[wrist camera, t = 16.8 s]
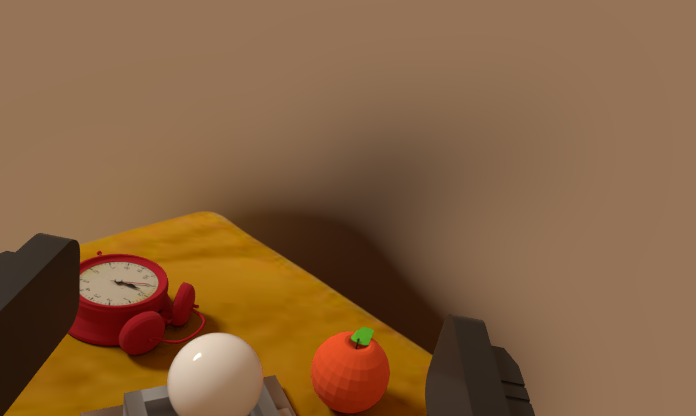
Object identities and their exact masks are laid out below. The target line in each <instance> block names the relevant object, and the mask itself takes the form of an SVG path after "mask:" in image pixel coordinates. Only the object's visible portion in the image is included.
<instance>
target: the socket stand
mask: <svg viewBox="0 0 696 416" xmlns="http://www.w3.org/2000/svg"><path fill="white" fill-rule="evenodd" d="M80 416H178V415H177V413H176V412H175V410H174V409H173V407H172V405H171V402H170V400H169V396H168V390H167V385H166V386H161V387H155V388H150V389H145V390H139V391H134V392H129V393H124V405H120V406H115V407H110V408H105V409H100V410H95V411H90V412H84V413H80ZM248 416H296V414H295V412H294V411H293V409H292V407H291V405H290V403H289V401H288V399H287V397H286V395H285V393H284V391H283V389H282V388H281V386H280V384H279V382H278V380H277V378H276V376H275V375H274V376H269V377H264V378H263V388H262V392H261V395H260V398H259V400H258V402H257V404H256V406H255V407H254V409H253V410H252V412H251V413H250V414H249V415H248Z"/></svg>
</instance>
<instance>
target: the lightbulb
mask: <svg viewBox="0 0 696 416" xmlns="http://www.w3.org/2000/svg"><path fill="white" fill-rule="evenodd" d="M262 388H263V370H262V365H261V362H260V360H259V357H258V356H257V354H256V352H255V351H254V350H253V348H252V347H251V346H250V345H249V344H248V343H247V342H245V341H244V340H242V339H241V338H239V337H237V336H234V335H231V334H227V333H210V334H205V335H202V336H200V337H197V338H195V339H193V340H192V341H190V342H189V343H188V344H186V345H185V346H184V347H183V348H182V349H181V350H180V351H179V353H178V354H177V355H176V357H175V358H174V360H173V362H172V364H171V367H170V370H169V374H168V380H167V390H168V396H169V400H170V402H171V405H172V407H173V409H174V410H175V412H176V413H177V415H178V416H248V415H249V414H250V413H251V412H252V410H253V409H254V407H255V406H256V404H257V402H258V400H259V398H260V395H261V392H262Z"/></svg>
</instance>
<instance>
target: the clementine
mask: <svg viewBox="0 0 696 416" xmlns="http://www.w3.org/2000/svg"><path fill="white" fill-rule="evenodd" d="M373 331H374V330H372V329H370V328H367V327H363V328H361V329H359V330H358V331H356V332H342V333H338V334H336V335H334V336H332V337H330V338H328V339H327V340H326V341H325V342H324V343H323V344H322V345H321V346H320V347H319V348H318V350H317V352H316V354H315V356H314V358H313V361H312V368H311V379H312V383H313V386H314V389H315V392H316V393H317V395H318V396H319V398H320V399H321V400H322V401H323V402H324V403H325V404H326V405H327V406H328V407H330V408H332V409H333V410H336V411H338V412H342V413H357V412H361V411H364V410H367V409H369V408H370V407H372V406H374V405H375V404H376V403H377V402H378V401H379V400H380V398H381V397H382V396H383V394H384V392H385V390H386V388H387V385H388V382H389V375H390V371H389V364H388V359H387V357H386V354H385V352H384V351H383V349H382V348H381V346H380V345H379V344H378V343H377V342H376V341H375V340H374V339H372V338H371V337H372V335H373Z"/></svg>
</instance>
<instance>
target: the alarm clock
mask: <svg viewBox="0 0 696 416" xmlns="http://www.w3.org/2000/svg"><path fill="white" fill-rule="evenodd" d="M97 254H98V255H99V256H97V257H93V258H90V259H87V260H85V261H83V262H81V263H80V302H79V308H78V313H77V316H76V319H75V321H74V323H73V325H72V327H71V329H70V330H69V331H68V334H70V335H71V336H73V337H75V338H77V339H79V340H81V341H84V342H88V343H92V344H98V345H107V346H115V345H120V347H121V348H122V350H123V351H125V352H126V353H128V354H130V355H141V354H144V353H147V352H149V351H150V350H152V349H153V348H155V347H156V346H157V345H158V344H159V343H160V341H162V342H166V343H173V344H177V343H182V342H185V341H187V340H189V339H191V338H193V337H194V336H195V335H197V334H198V333H199V332H200V331H201V330H202V329H203V327H204V325H205V318H204V316H203V315H202V314H200V313H199V312H197V311H196V310H194V309H193V307H194V308H199V305H195V304H194V302H195V290H194V288H193V286H192V285H191V284H188V283H185V282H183V283H182V284H181V286H180V288H179V290H178V292H177V295H176V297H175V301H174V305H173V310H172V302H171V300H170V298H169V296H168V294H167V291H168V278H167V275H166V273H165V271H164V270H163V269H162V268H161V267H160V266H159V265H158V264H156V263H155V262H153V261H151V260H148V259H146V258H143V257H139V256H134V255H128V254H109V255H101V254H102V252H101V251H98V252H97ZM192 312H194V313H196V314H197V315H199V316H200V317H201V318H202V320H203V323H202V325H201V327H200V328H199V329H198V330H197V331H196V332H195V333H193V334H192V335H191V336H189V337H187V338H185V339H182V340H176V341H172V340H165V339H162V338H163V335H164V332H165V326H166V325H167V324H169V323H170V322H172V325H174V326H182V325H184V324H185V323H186V322H187V321H188V319H189V317H190V315H191V313H192ZM171 315H172V318H171ZM170 318H171V319H170Z"/></svg>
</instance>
